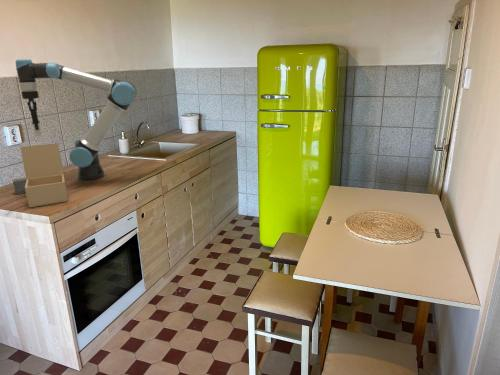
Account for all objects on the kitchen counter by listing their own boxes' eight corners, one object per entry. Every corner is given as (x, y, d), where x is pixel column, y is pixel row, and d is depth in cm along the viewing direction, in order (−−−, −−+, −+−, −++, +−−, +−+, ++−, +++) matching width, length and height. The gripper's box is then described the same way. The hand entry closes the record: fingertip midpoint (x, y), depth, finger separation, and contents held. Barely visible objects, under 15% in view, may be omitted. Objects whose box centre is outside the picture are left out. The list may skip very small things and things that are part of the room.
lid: (63, 173, 198) (63, 173, 199) (58, 143, 198) (58, 143, 199) (26, 178, 191) (26, 178, 192) (20, 147, 191) (20, 147, 192)
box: (66, 191, 201) (63, 174, 198) (68, 201, 188) (64, 182, 185) (30, 197, 194) (26, 179, 191) (29, 207, 181) (24, 187, 177)
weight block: (33, 189, 208) (30, 177, 205) (32, 191, 203) (30, 179, 201) (16, 191, 204) (13, 179, 202) (15, 194, 200) (12, 181, 198)
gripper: (21, 90, 199) (31, 134, 207) (20, 91, 188) (30, 138, 196) (37, 89, 202) (46, 133, 210) (37, 91, 191) (46, 136, 199)
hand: (38, 135), depth 203 cm, fingers closed
